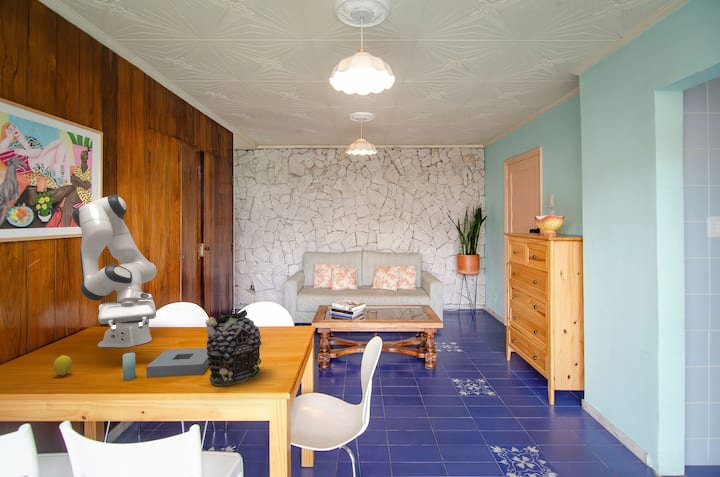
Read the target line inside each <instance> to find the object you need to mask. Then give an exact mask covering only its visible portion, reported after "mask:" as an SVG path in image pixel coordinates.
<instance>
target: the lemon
mask: <svg viewBox="0 0 720 477" xmlns="http://www.w3.org/2000/svg"><path fill="white" fill-rule="evenodd" d="M72 366H73V360H72V358H71V357H70V356H68V355H64V354H61V355H60V356H59V357H57V358H56V359H55V360H54V361H53V371H54V373H55V374H56V375H60V376H62V377H64V376H65V375H67V374H68V373H69V372H70V371H71V370H72Z"/></svg>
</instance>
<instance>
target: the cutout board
mask: <svg viewBox="0 0 720 477" xmlns="http://www.w3.org/2000/svg"><path fill="white" fill-rule="evenodd" d="M207 361H208V355H207V348H206V347H203V348H202V347H201V348H199V347H198V348H176V349H165V350H164V351H163V352H162V353H161V354H160V355H158V356H157V357H156V358H154V360H153V361H151V362H150V363H149V364H148V365H146V378H161V377H163V376H164V377H179V376H180V377H181V376H184V377H185V376H199V375H200V376H201V375H203V374H204V373H205V372H206V371H207V369H208V367H210V366H209V365H208V362H207ZM164 377H163V378H164Z"/></svg>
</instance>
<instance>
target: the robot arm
mask: <svg viewBox="0 0 720 477" xmlns="http://www.w3.org/2000/svg"><path fill="white" fill-rule="evenodd" d="M127 209H128V208H127V204H126V202H125V200H124V199H123V198H122V197H121V196H120V195H118V194H111V195H110V194H109V195H108V196H105V197H101V198H97V199H95V200H93V201H90V202H87V203H86V204H83V205H82V206H78V207H76V208H74V209H73V211H72V213H71V218H72V220H73V221H74V223H75V225H77V226H78V227H79V228H80V230H81V244H80V250H79V255H80V256H79V258H80V260H79V261H80V267H81V268H80V270H81V283H80V292H81V294H82V295H83V296H84V297H85V298H86V299H88V300H90V301H94V302H95V301H97V302H98V301H101V300H103V299H105V298H106V297H107V296H108V295H109V294H111V293H112V292H114V291H116V301H106V302H103V303H101V304H100V305H98V315H97V320H98V323H100V324H101V325H103V324H105V325H106V324H108V326H109V328H108V329H107V330H106V331H105V332H104V336H103V340H101V341H99V342H98V344H97V348H130V347H134V346H135V347H136V346H140V345H143V344H144V345H145V344H146V343H150V342H151V341H152V340H153V338H152V336H151V331H150V326H149V324H150V320H153V319H155V318H157V310H156V304H155V301H154V299H153V295H152V294H151V293H145V292H144V291H143V290H142V286H143V285H142V284H145V283H148V282H150V281H152V280H153V279H154V278H155V277H157V273H158V269H157V267H156V265H155V264H154V263H153V262H151V261H150V260H148V259H147V258H146V256H144V255H143V253H141V251H140V250H139V249H138V247H137V244H136V243H135V240H134V238H133V236H132V234H131V232H130V230H129V228H128V226H127V224H126V223H125V221H124V219H125V215H126V214H127V211H128V210H127ZM106 247H107V248H108V250H109V253H110V255H111V256H112V257H113V258H114V259H116V260H118V262H120V263H121V264H114V263H111V264H107V265H105V266H104V267H103V268H101V269H100V270H99V268H100V267H99V258H100V256H101V254H102V253H103V251H104V249H105V248H106ZM114 323H115V324H114Z"/></svg>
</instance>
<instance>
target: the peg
mask: <svg viewBox="0 0 720 477" xmlns="http://www.w3.org/2000/svg"><path fill="white" fill-rule="evenodd" d="M136 369H137V368H136V353H135V352H126V353H124V354H122V380H123V381H131V380H135V379H136V377H137V375H136V373H137V371H136Z"/></svg>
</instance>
